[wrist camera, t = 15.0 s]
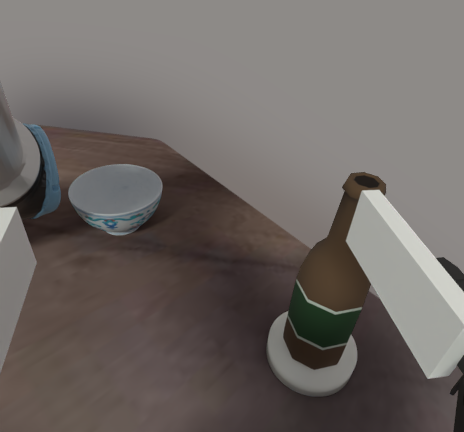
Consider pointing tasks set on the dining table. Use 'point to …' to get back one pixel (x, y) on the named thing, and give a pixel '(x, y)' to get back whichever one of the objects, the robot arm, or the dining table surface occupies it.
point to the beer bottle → (329, 287)
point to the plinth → (301, 375)
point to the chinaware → (116, 197)
